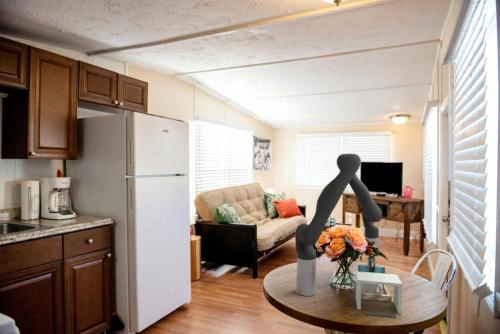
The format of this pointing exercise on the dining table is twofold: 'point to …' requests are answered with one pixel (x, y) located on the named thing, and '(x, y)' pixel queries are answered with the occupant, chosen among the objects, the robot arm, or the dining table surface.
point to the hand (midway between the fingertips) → (371, 278)
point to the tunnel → (380, 280)
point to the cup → (371, 288)
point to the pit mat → (380, 314)
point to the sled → (370, 295)
